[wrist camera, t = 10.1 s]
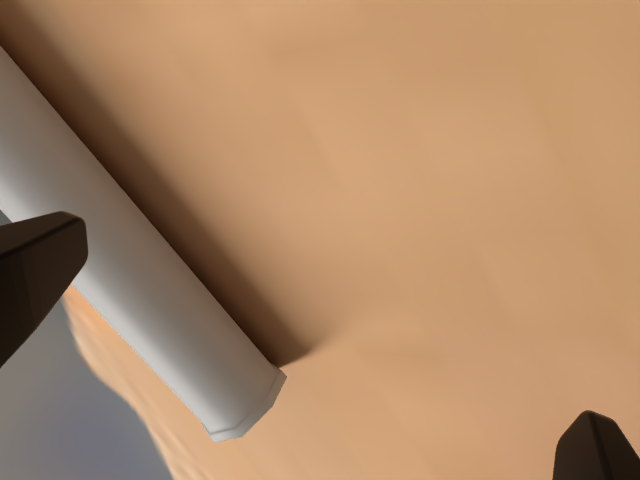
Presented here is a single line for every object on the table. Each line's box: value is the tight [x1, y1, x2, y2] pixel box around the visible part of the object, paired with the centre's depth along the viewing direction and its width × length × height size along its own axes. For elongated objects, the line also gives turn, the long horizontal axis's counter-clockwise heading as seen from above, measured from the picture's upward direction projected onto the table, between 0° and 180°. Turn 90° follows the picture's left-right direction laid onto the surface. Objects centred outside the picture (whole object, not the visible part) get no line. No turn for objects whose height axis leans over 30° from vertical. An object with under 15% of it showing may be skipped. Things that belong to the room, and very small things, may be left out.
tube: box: [0, 46, 287, 443], centre depth 26 cm, size 5×5×25 cm
